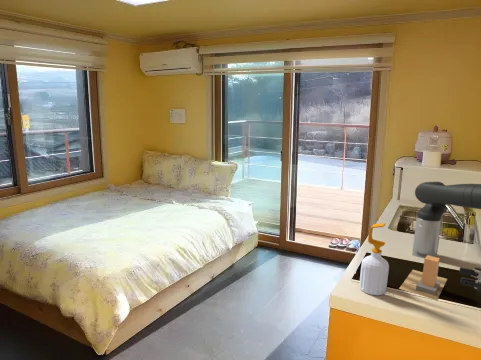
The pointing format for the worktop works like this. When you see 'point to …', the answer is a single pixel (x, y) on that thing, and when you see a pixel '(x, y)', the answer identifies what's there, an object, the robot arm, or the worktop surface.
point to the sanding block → (429, 276)
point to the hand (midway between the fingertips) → (460, 275)
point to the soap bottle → (374, 268)
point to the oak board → (414, 280)
